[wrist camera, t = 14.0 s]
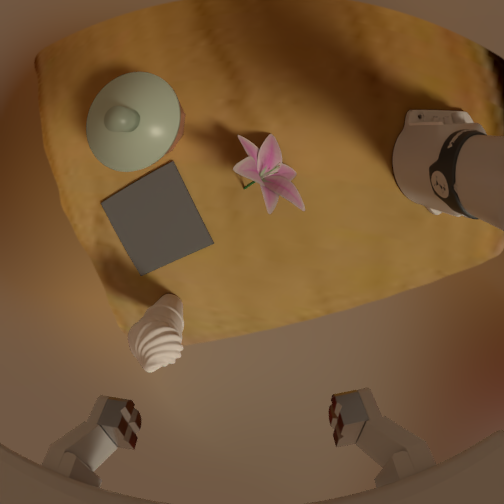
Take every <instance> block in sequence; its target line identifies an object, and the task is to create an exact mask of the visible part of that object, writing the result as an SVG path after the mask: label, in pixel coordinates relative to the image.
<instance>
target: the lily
mask: <svg viewBox="0 0 504 504" xmlns="http://www.w3.org/2000/svg"><path fill="white" fill-rule="evenodd" d="M238 138H239V140H240V142H241V144H242V145H243V147H244V149H245V151H246V153H247V155H248V157H247V158H245V159H243V160H241V161H240V162H239V163H237V164H236V165H235V166H234V168H233V170H234V171H235V172H236V173H238V174H239V175H242V176H244V177H246V178H249V179H251V180H253V182H251V183H250V184H248V185H247V186H245V187H244V189H246V188H247V187H249V186H250V185H252V184H253V183H255V182H257V183H259V184H260V186H261V189H262V193H263V197H264V200H265V204H266V208H267V211H268V213H269V214H271V213H272V212H273V210H274V208H275V207H276V204H277V202H278V198H279V195H280V196H282V197H283V198H285V199H287V200H288V201H290V202H291V203H293V204H294V205H296V206H297V207H298V208H299V209H301V210H302V211H305V207H304V204H303V201H302V198H301V196H300V194H299V192H298V190H297V189H296V187H295V185H294V184H293V183H292V182H291V180H292V179H294V178H295V176H296V172H295V171H294V170H293V169H292V168H290V167H289V166H287V165H285V164H283V163H282V154H281V150H280V147H279V145H278V143H277V140H276V139H275V137H274V136H273V135H272V134H269V135H268V137H267V138H266V139H265V141H264V142H263V144H262V146H261V147H260V150H259V148H258V147H257V146H255V145H254V144H253V143H252V142H250V141H249V140H247V139H246V138H244V137H242V136H240V135H238Z"/></svg>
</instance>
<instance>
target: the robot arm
mask: <svg viewBox="0 0 504 504" xmlns="http://www.w3.org/2000/svg"><path fill="white" fill-rule="evenodd" d="M418 115H419V116H420V119H419V118H418ZM393 171H394V175H395V179H396V181H397V184H398V186H399V188H400V189H401V191H402V192H403V193H404V195H405V196H406V197H407V198H409V199H410V200H411V201H413V202H415V203H418V204H421V205H424V206H425V207H426V208H427V209H428V210H429V211H430V212H431V213H432V214H435V215H439V214H441V213H442V212H444V213H447V214H450V215H453V216H457V217H460V216H461V215H462V216H464V217H468V218H472V219H481V220H483V221H485V222H487V223H489V224H491V225H493V226H495V227H497V228H499V229H501V230H503V231H504V136H489V135H487V134H486V132H485V130H484V129H483V127H482V126H481V125H480V124H479V123H474V122H473V120H472V119H471V117H470V116H469V114H468V113H467V112H464V111H451V110H409V111H408V112H407V114H406V118H405V125H404V128H403V130H402V132H401V133H400V135H399V137H398V138H397V141H396V143H395V146H394V151H393ZM331 401H332V404H331V405H330V407H329V421H330V425H331V427H333V428H334V433H333V437H334V441H335V445H336V447H341V446H346V445H350V444H356V445H357V446H358V447H359V448H361V449H362V450H363V451H364V452H365V453H366V454H367V455H368V456H370V457H371V458H372V459H373V460H374V461H375V462H377V463H378V464H379V465H380V466H381V467H383V469H382V470H381V471H380V473H379V474H378V475H377V476H376V478H375V479H374V480H375V483H376V487H377V488H374V489H371V490H367V491H364V492H360V493H356V494H352V495H348V496H344V497H339V498H335V499H329V500H324V501H318V502H312V503H306V504H504V431H503V430H499V431H496V432H494V433H493V434H491V435H490V436H488V437H486V438H485V439H483V440H482V441H480V442H478V443H477V444H475V445H473V446H471V447H470V448H468V449H466V450H464V451H463V452H461V453H459V454H457V455H455V456H453V457H451V458H449V459H447V460H445V461H443V462H441V463H439V464H437V465H436V462H435V460H434V458H433V456H432V453H431V451H430V449H429V447H428V445H427V443H426V441H424V440H423V439H421V438H420V437H418V436H416V435H415V434H413V433H411V432H410V431H408V430H406V429H405V428H403V427H402V426H400V425H398V424H397V423H395V422H394V421H392V420H391V419H389V418H387V417H386V416H384V417H382V415H381V413H380V411H379V408H378V406H377V404H376V401H375V399H374V397H373V395H372V392H371V390H370V389H369V388H364V389H359V390H353V391H348V392H344V393H338V394H333V395H332V398H331ZM134 405H135V404H134V403H133V401H132V400H127V399H120V398H115V397H109V396H103V395H100V396H99V397H98V398H97V401H96V403H95V405H94V407H93V410H92V411H91V414H90V416H89V418H88V420H87V422H83V423H81V424H80V425H79V426H77V427H76V428H75V429H73V430H71V431H70V432H68V433H67V434H65V435H64V436H63V437H61V438H60V439H58V440H57V441H55V442H54V443H52V444H51V445H50V447H49V449H48V451H47V454H46V456H45V458H44V460H43V463H42V465H39V464H37V463H35V462H33V461H31V460H29V459H27V458H26V457H24V456H22V455H20V454H18V453H16V452H14V451H12V450H11V449H9V448H7V447H6V446H4V445H3V444H1V443H0V504H169V503H162V502H156V501H150V500H146V499H141V498H136V497H131V496H127V495H123V494H119V493H116V492H112V491H108V490H104V489H102V488H100V486H101V482H102V480H101V478H100V477H99V476H98V475H96V474H95V473H94V471H95V470H96V469H97V468H98V467H99V466H100V465H101V464H102V463H103V462H104V461H105V460H106V459H107V458H108V457H109V456H110V455H111V454H112V453H113V452H114V451H115V450H116V449H117V447H120V448H126V449H132V450H134V449H135V446H136V442H137V436H136V433H137V432H138V431H139V430H140V428H141V415H140V413H139V411H138V410H136V409H135V408H134Z"/></svg>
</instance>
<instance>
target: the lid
mask: <svg viewBox="0 0 504 504" xmlns="http://www.w3.org/2000/svg"><path fill="white" fill-rule="evenodd" d="M180 121H181V110H180V104H179V100H178V98H177V95H176V93H175V92H174V90H173V89H172V87H171V86H170V85H169V84H168V83H167V82H166V81H164V80H163V79H161V78H160V77H158V76H156V75H154V74H151V73H147V72H132V73H127V74H124V75H122V76H119V77H117V78H115V79H114V80H112V81H111V82H109V83H108V84H107V85H106V86H105V87H104V88H103V89H102V90H101V91H100V92H99V93H98V94H97V96H96V98H95V99H94V101H93V103H92V105H91V107H90V110H89V113H88V117H87V123H86V133H87V139H88V143H89V146H90V148H91V150H92V152H93V154H94V155H95V157H96V158H97V159H98V160H99V161H100V162H101V163H102V164H104V165H105V166H107V167H109V168H111V169H113V170H117V171H123V172H130V171H136V170H140V169H143V168H146V167H148V166H150V165H152V164H154V163H155V162H157V161H158V160H159V159H161V158H162V157H163V156H164V155H165V154H166V153H167V151H168V150H169V149H170V147H171V146H172V144H173V142H174V141H175V139H176V136H177V134H178V131H179V127H180Z"/></svg>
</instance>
